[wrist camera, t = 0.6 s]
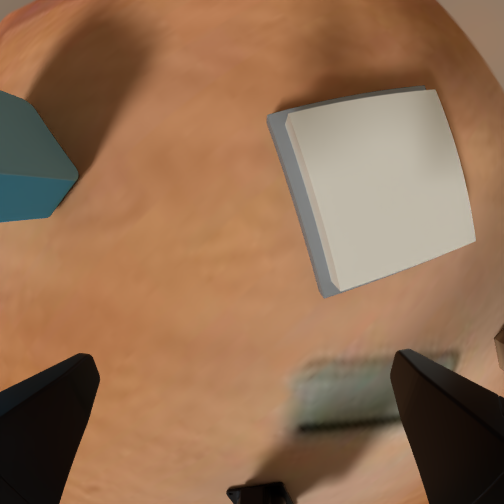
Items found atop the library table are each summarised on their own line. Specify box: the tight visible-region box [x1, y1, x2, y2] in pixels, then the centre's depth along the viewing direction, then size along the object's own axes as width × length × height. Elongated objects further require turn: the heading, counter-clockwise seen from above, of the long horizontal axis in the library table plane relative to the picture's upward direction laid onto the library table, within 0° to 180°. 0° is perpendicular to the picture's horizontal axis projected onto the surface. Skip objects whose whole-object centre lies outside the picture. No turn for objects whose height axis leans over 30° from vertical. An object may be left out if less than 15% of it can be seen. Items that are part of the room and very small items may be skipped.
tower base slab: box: [267, 85, 444, 298], centre depth 20 cm, size 13×13×2 cm
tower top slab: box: [285, 89, 476, 291], centre depth 18 cm, size 11×11×2 cm
